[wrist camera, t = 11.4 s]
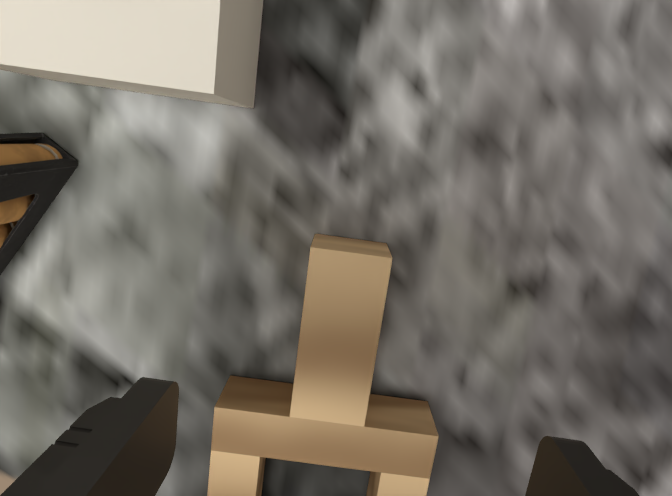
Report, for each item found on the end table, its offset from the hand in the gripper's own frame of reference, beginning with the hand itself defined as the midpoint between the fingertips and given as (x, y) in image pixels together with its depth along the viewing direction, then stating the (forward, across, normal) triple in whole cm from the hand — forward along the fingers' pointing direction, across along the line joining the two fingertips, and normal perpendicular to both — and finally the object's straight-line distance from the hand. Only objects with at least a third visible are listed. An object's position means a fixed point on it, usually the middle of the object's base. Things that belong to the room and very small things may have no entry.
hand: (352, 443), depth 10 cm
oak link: (+10, 0, +5) cm, 11 cm away
